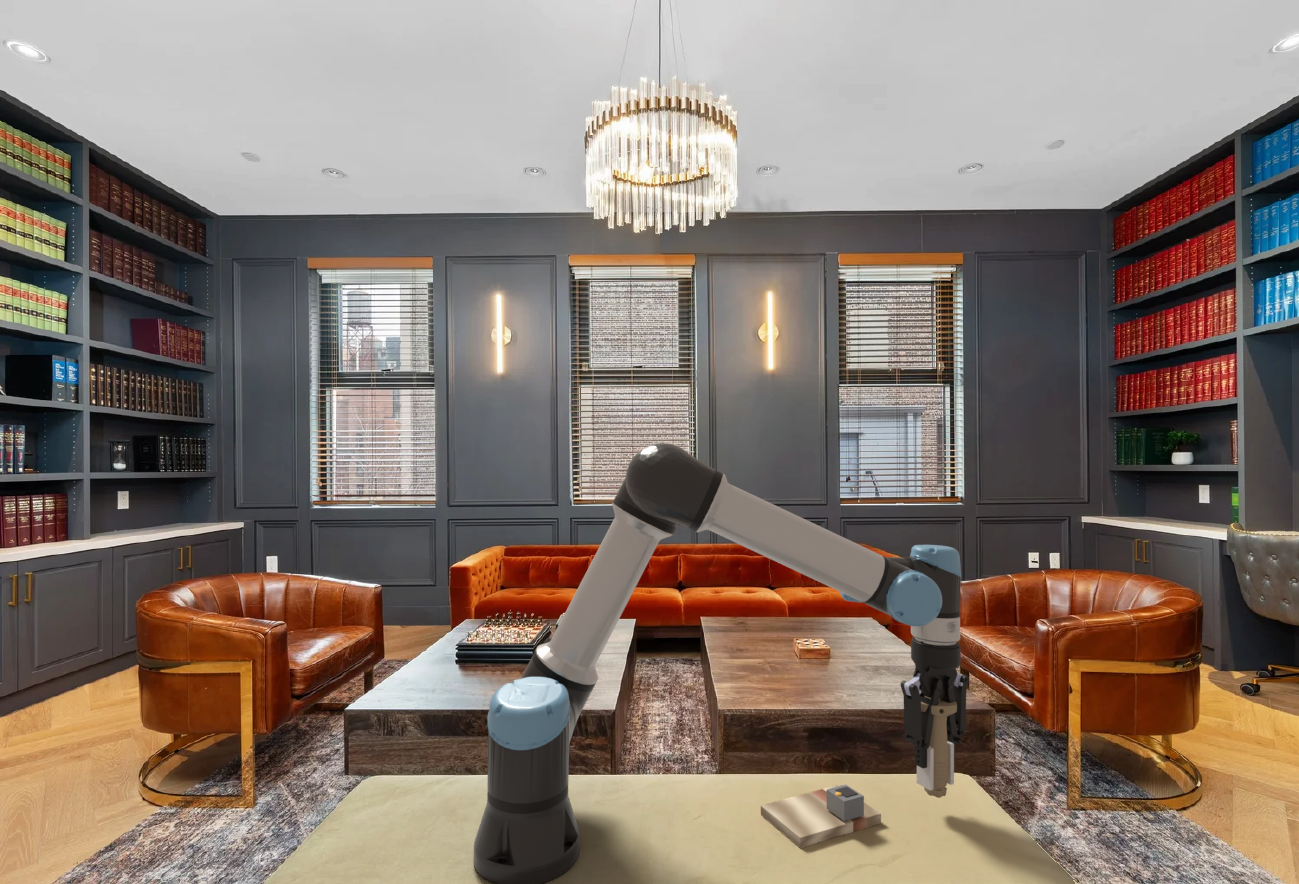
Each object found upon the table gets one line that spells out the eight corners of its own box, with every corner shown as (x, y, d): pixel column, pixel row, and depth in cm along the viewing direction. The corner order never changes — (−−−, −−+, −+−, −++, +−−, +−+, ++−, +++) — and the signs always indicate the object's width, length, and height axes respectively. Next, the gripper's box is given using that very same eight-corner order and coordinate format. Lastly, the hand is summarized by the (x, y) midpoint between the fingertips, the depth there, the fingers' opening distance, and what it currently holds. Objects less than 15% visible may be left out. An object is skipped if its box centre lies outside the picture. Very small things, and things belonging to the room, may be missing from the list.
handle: (961, 802, 101) (961, 706, 102) (921, 800, 101) (921, 705, 102) (948, 787, 106) (948, 696, 107) (909, 785, 106) (910, 694, 107)
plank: (800, 848, 94) (800, 837, 94) (760, 814, 103) (760, 805, 103) (881, 823, 100) (880, 813, 100) (837, 793, 109) (837, 784, 109)
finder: (844, 821, 98) (844, 800, 98) (826, 808, 101) (826, 788, 101) (863, 815, 99) (863, 794, 99) (845, 803, 103) (845, 783, 103)
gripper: (916, 650, 98) (916, 805, 97) (990, 640, 105) (991, 784, 104) (879, 638, 105) (879, 782, 104) (952, 629, 112) (951, 764, 111)
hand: (935, 783), depth 104 cm, fingers closed on handle, 4 cm apart
